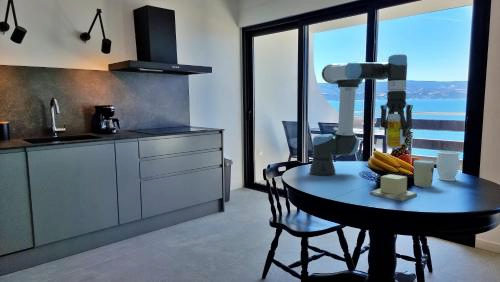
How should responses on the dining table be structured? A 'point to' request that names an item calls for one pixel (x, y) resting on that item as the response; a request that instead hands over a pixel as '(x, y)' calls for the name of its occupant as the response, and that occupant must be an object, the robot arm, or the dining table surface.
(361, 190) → the dining table surface
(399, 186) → the cream yellow block
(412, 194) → the blueprint board
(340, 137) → the robot arm
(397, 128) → the glass of beer
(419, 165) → the coffee cup
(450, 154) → the jar
